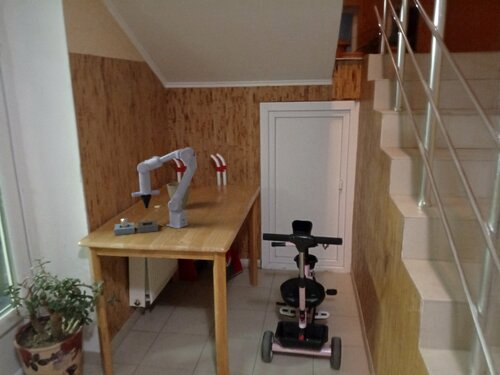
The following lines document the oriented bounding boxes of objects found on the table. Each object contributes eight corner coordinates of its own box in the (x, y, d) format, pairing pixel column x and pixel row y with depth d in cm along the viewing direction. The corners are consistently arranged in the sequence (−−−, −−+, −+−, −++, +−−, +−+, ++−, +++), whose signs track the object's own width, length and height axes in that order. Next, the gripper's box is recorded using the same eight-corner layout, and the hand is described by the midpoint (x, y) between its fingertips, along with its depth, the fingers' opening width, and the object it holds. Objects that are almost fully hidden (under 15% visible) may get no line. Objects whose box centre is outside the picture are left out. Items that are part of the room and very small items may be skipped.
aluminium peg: (129, 230, 212) (128, 217, 210) (127, 232, 208) (126, 219, 207) (122, 230, 211) (121, 217, 210) (120, 232, 208) (119, 219, 206)
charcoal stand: (156, 225, 219) (156, 220, 218) (158, 231, 210) (157, 225, 209) (138, 227, 216) (137, 222, 216) (138, 233, 207) (138, 227, 206)
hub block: (134, 227, 216) (134, 222, 215) (134, 233, 206) (134, 227, 206) (115, 229, 213) (115, 224, 212) (114, 235, 204) (114, 229, 203)
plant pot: (186, 211, 246) (185, 186, 242) (164, 210, 249) (163, 186, 245) (194, 205, 260) (193, 182, 257) (173, 204, 263) (172, 181, 259)
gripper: (132, 186, 208) (134, 211, 211) (160, 183, 215) (161, 207, 218) (130, 184, 214) (132, 208, 217) (156, 181, 221) (158, 205, 224)
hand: (146, 208), depth 218 cm, fingers closed
